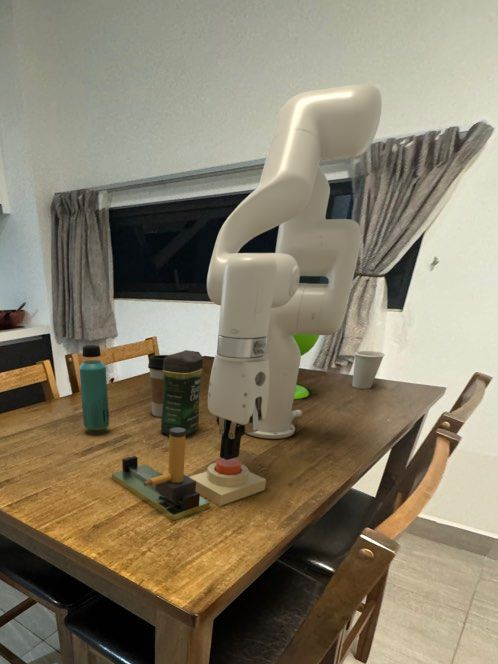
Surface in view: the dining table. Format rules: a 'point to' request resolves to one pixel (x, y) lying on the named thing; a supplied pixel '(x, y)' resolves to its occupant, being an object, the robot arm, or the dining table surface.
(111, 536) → the dining table surface
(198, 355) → the coffee jar
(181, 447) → the nozzle
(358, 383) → the dixie cup
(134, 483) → the rail
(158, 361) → the coffee cup
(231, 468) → the button
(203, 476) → the button box
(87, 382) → the beverage bottle
